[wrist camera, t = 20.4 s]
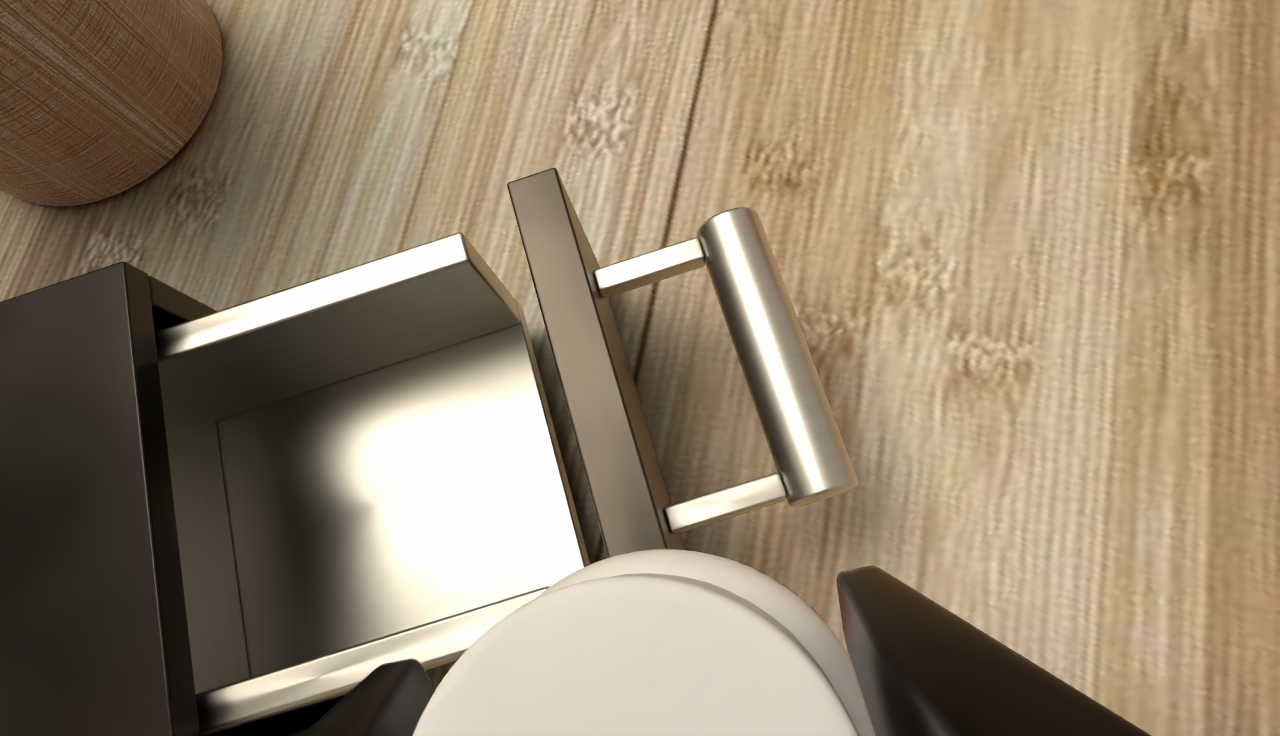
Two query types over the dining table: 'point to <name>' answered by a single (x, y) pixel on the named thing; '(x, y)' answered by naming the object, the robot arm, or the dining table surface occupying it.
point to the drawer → (442, 449)
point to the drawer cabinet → (95, 518)
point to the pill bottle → (654, 659)
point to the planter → (100, 92)
